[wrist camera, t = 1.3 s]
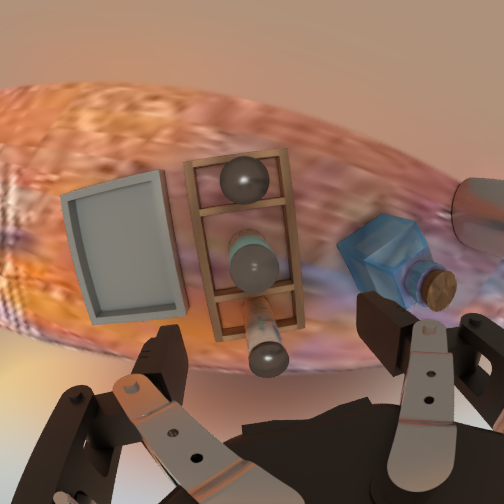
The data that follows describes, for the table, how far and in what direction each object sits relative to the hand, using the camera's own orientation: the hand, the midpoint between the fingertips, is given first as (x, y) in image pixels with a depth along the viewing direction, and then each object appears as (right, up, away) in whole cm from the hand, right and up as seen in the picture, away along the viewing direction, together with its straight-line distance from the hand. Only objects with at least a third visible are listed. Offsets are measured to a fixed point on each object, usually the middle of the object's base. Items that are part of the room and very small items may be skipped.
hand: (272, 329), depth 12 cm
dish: (-13, +4, +14) cm, 20 cm away
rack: (-1, +4, +15) cm, 16 cm away
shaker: (-1, +4, +15) cm, 16 cm away
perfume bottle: (+12, +3, +17) cm, 21 cm away
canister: (0, -2, +17) cm, 17 cm away
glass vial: (-2, +10, +14) cm, 17 cm away
